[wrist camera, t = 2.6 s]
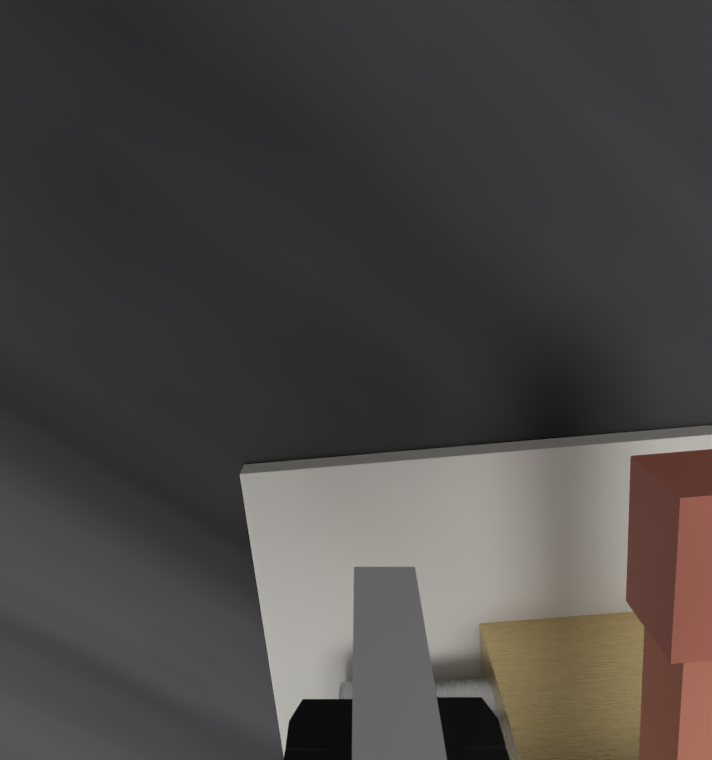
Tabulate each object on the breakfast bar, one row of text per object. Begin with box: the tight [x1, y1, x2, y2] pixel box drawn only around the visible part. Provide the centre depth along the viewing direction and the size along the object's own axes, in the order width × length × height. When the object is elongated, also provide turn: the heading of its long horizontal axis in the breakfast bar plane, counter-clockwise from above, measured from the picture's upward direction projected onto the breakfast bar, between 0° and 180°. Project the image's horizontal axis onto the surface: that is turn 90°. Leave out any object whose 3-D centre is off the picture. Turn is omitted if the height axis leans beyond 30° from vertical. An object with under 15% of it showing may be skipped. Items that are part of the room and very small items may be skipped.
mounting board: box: [240, 425, 712, 756], centre depth 26 cm, size 20×27×1 cm
